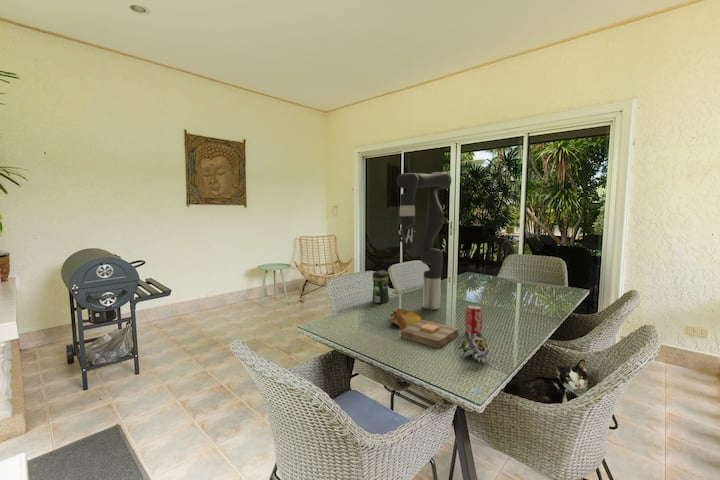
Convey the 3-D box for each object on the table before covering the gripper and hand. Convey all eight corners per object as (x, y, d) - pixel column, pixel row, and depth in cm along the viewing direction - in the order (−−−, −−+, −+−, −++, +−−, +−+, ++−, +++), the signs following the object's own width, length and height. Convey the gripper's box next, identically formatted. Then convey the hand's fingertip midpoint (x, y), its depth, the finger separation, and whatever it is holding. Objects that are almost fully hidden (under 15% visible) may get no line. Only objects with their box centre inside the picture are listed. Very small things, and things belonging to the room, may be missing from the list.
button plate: (422, 325, 161) (422, 319, 161) (458, 335, 149) (458, 328, 149) (401, 337, 147) (401, 330, 147) (438, 348, 136) (438, 341, 135)
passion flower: (481, 376, 124) (481, 359, 117) (453, 363, 130) (452, 346, 123) (492, 352, 130) (493, 334, 123) (465, 340, 136) (464, 322, 129)
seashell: (425, 313, 167) (417, 317, 154) (423, 328, 167) (414, 333, 154) (394, 304, 174) (384, 308, 161) (391, 319, 174) (381, 323, 161)
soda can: (483, 331, 153) (484, 306, 152) (479, 337, 147) (480, 310, 146) (467, 329, 157) (467, 303, 156) (463, 334, 151) (464, 307, 150)
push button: (427, 330, 152) (427, 323, 152) (439, 334, 149) (439, 326, 148) (420, 334, 148) (420, 327, 148) (432, 338, 144) (432, 330, 144)
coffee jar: (380, 298, 208) (380, 268, 206) (390, 301, 203) (390, 270, 201) (370, 302, 201) (370, 271, 199) (380, 304, 196) (380, 272, 194)
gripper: (408, 214, 173) (408, 248, 175) (392, 215, 162) (392, 250, 164) (421, 214, 168) (420, 249, 170) (405, 215, 157) (405, 252, 159)
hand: (406, 249), depth 167 cm, fingers open, 3 cm apart
